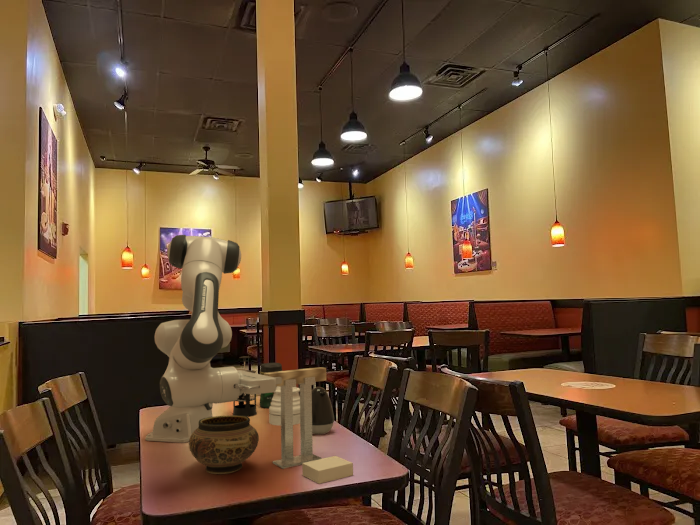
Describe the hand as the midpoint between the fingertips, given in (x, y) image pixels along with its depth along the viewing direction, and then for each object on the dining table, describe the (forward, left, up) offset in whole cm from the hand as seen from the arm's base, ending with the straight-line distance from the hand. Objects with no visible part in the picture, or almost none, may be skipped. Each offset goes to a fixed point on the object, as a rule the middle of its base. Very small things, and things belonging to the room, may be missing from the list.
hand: (276, 378), depth 140 cm
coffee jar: (-22, +82, -23) cm, 88 cm away
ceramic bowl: (-14, -3, -23) cm, 27 cm away
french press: (-29, +66, -23) cm, 76 cm away
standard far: (+7, +6, -23) cm, 25 cm away
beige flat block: (+15, -7, -23) cm, 28 cm away
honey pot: (-9, +53, -23) cm, 59 cm away
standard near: (+2, +2, -23) cm, 23 cm away
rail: (+5, +4, -2) cm, 6 cm away
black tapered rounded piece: (+6, +36, -23) cm, 44 cm away
